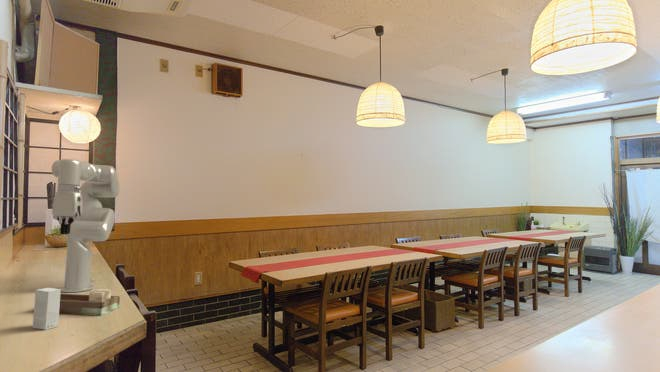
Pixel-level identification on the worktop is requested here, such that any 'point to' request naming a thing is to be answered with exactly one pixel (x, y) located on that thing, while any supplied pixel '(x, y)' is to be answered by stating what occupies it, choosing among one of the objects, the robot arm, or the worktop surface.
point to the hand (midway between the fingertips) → (65, 233)
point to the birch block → (99, 295)
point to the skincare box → (46, 308)
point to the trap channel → (86, 305)
